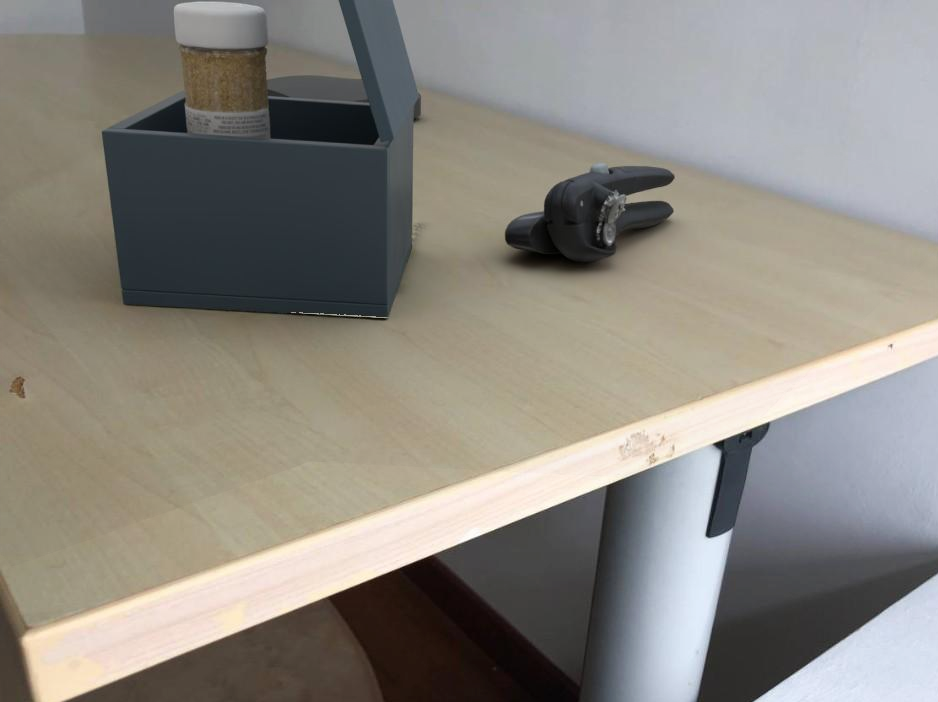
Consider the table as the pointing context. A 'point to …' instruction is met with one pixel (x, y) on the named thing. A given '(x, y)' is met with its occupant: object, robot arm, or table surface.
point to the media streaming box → (323, 89)
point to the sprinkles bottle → (224, 68)
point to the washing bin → (262, 210)
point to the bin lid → (381, 62)
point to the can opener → (591, 212)
